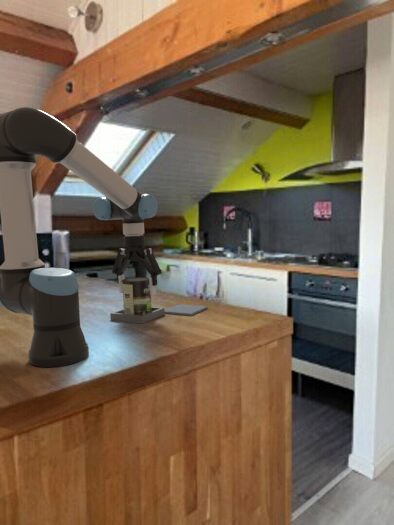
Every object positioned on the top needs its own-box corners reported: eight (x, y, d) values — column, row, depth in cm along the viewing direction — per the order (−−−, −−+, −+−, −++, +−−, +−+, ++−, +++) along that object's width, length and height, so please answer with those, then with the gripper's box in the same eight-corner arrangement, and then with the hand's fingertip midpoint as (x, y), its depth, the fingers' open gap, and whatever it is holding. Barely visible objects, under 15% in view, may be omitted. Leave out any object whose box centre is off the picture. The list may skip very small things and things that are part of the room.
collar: (142, 323, 146) (142, 316, 145) (110, 320, 152) (110, 313, 152) (164, 314, 158) (164, 307, 158) (134, 311, 164) (133, 305, 164)
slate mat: (191, 315, 154) (191, 313, 154) (161, 313, 160) (161, 311, 160) (207, 308, 166) (207, 306, 166) (178, 306, 172) (178, 304, 172)
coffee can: (155, 314, 159) (154, 277, 158) (147, 321, 149) (145, 281, 147) (129, 313, 161) (127, 277, 160) (119, 320, 151) (117, 281, 150)
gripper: (169, 234, 149) (172, 293, 152) (113, 234, 161) (116, 289, 163) (157, 235, 143) (160, 297, 145) (100, 236, 154) (104, 293, 157)
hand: (137, 293), depth 154 cm, fingers open, 13 cm apart
